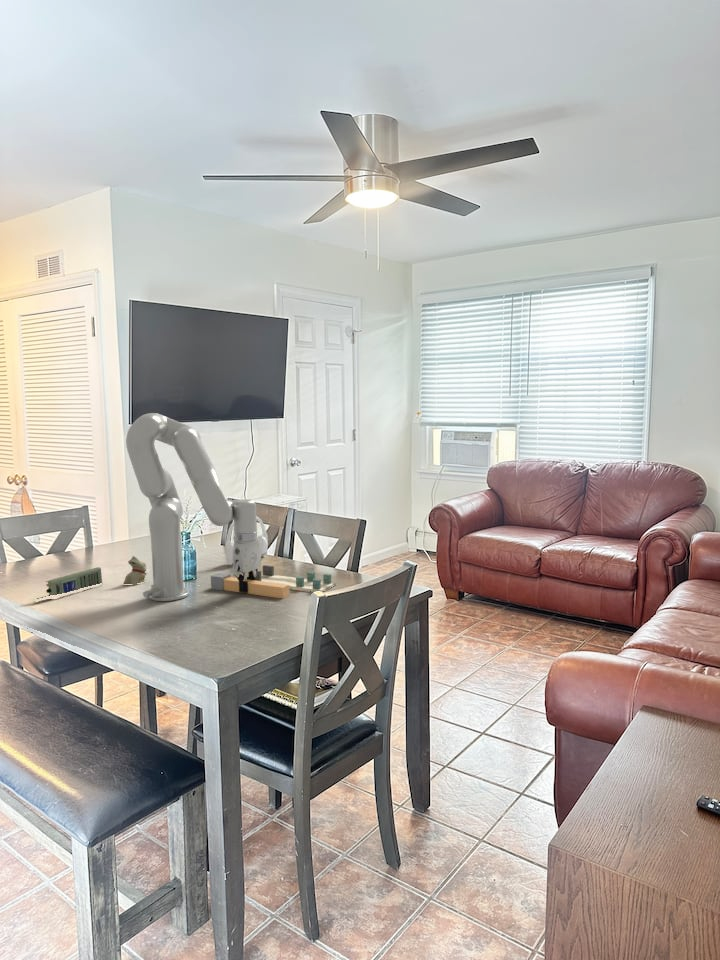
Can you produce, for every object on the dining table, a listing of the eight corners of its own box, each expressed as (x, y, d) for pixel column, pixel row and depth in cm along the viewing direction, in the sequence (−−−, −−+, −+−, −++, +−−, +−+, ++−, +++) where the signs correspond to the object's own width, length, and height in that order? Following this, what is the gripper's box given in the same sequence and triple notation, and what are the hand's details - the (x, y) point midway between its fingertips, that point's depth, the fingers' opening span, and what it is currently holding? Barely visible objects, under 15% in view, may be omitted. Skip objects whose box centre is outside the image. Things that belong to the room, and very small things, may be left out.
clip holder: (321, 593, 218) (321, 580, 217) (246, 583, 231) (246, 571, 231) (335, 585, 227) (335, 573, 226) (263, 576, 240) (262, 564, 239)
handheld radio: (104, 586, 231) (38, 605, 209) (97, 585, 232) (32, 604, 211) (102, 567, 230) (36, 585, 209) (96, 566, 232) (30, 584, 210)
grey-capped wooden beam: (282, 598, 213) (282, 585, 212) (211, 588, 225) (210, 575, 225) (290, 595, 216) (289, 582, 216) (219, 585, 229) (218, 572, 229)
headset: (233, 567, 254) (232, 521, 252) (221, 564, 258) (220, 519, 256) (271, 557, 269) (270, 514, 267) (259, 554, 274) (258, 512, 272)
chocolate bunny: (147, 584, 232) (145, 556, 230) (123, 586, 229) (121, 558, 228) (147, 580, 237) (145, 553, 236) (123, 582, 235) (122, 554, 233)
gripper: (239, 542, 210) (241, 598, 212) (269, 533, 225) (270, 585, 227) (220, 540, 213) (223, 595, 216) (251, 531, 228) (252, 583, 230)
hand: (247, 589), depth 221 cm, fingers closed on grey-capped wooden beam, 3 cm apart
